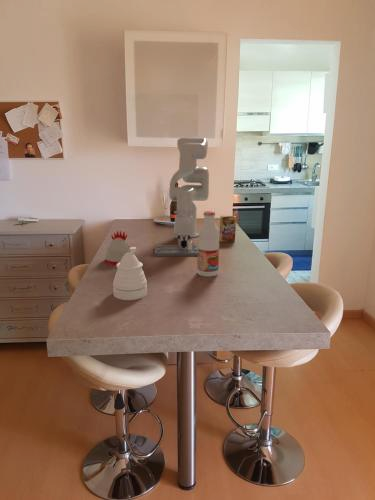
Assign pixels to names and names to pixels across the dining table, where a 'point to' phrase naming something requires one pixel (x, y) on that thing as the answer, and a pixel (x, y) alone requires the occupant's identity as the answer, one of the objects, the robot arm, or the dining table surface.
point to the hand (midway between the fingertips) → (183, 247)
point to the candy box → (227, 228)
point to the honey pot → (129, 278)
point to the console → (175, 250)
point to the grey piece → (117, 249)
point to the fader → (190, 245)
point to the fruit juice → (208, 246)
